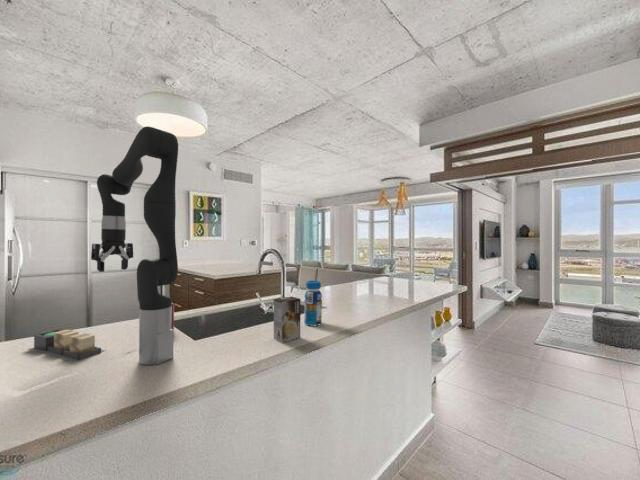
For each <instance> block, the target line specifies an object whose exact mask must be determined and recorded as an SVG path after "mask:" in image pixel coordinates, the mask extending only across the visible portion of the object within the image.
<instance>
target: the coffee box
mask: <svg viewBox="0 0 640 480" xmlns="http://www.w3.org/2000/svg"><path fill="white" fill-rule="evenodd" d="M296 338H297V339H301V298H299V297H295V296H286V297H281V298H274V299H273V340H275V339H276V341H277V340H278V342H279V341H280V343H281V342H283V343H286V341H287V342H290V341H293V339H294V340H297V339H296Z"/></svg>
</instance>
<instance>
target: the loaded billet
mask: <svg viewBox="0 0 640 480" xmlns="http://www.w3.org/2000/svg"><path fill="white" fill-rule="evenodd" d="M62 330H63V331H59V332H55V333H54V348H58V349H61V350H65V349H68V348H70V336H73V335H77V334H79V331H76V330H73V329H62Z"/></svg>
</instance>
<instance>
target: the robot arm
mask: <svg viewBox="0 0 640 480" xmlns="http://www.w3.org/2000/svg"><path fill="white" fill-rule="evenodd" d="M129 146H130V147H129V149H128V150H127V152H126V155H125V156H124V158H123V159H122V161H121V162H120V163H118V165H117V166H116V167H115V168H114V169H113V170H112V174H106V173H104V174H101V175H99V176H98V178H97V181H96V186H97V190H98V193H99V196H100V200H101V204H102V218H101V225H100V226H101V232H100V233H101V237H100V239H101V243H92V244H91V252H90V253H91V254H90V256H91V257H90V260H91V261H95V262H96V269H97V271H98V272H99V273H103V272H105V260H106V259H107V258H108V257H109V256H114V255H115V256H116V255H117V256H119V257H120V259H121V260H120V261H121V263H120V264H121V267H120V268H121V270H125V271H126V270H127V269H128V267H129V260H130V259H134V244H133V243H132V242H126V243H125V241H126V235H127V234H126V232H127V231H126V226H127V224H126V223H127V222H126V205H125V202H123V201H120V200H117V199H115V198H114V197H113V195H118V196H127V195H129V193H130V192H131V190H132V188H133V187H132V186H133V184H134V182H136V180H138V178H140V177H141V175H142V173H143V170H144V165H143V162H142V158H144V157H146V156H147V157H150V158H155V159H159V160H160V171H159V173H158V176H157V178H156V179H155V180H154V182H153V183H152V184H151V185H150V187H149V188H148V190H147V191H146V193H145V195H144V197H143V218H144V221H145V224H146V225H147V227H148V228H149V231H150V232H151V233H152V235H153V237H154V239H156V240H155V241H156V242H157V245H158V252H159V253H158V255H159V257H156V258H155V257H154V258H153V257H152V258H144V259H141V260H140V261H139V262H138V265H137V268H136V285H137V290H136V291H137V300H138V304H139V309H138V310H139V315H138V316H139V319H138V322H139V323H138V325H139V326H138V329H139V330H138V333H139V335H138V336H139V337H138V355H139V356H138V363H139V364H141V365H146V366H151V365H156V366H158V365H160V364H163V363H164V362H167V361H169V360H172V359H173V358H174V339H175V338H174V337H175V336H174V333H175V331H174V330H175V329H174V330H173V329H171V321H172V303H173V300H172V297H171V296H170V295H164V294H160V293H159V289H158V287H162V286H166V285H167V286H168V285H171V284H174V283H175V282H176V280H177V278H178V273H179V265H178V263H179V262H178V255H177V254H178V253H177V252H178V251H177V244H176V214H177V213H176V210H177V209H176V205H177V204H176V202H177V201H176V178H177V167H178V158H179V157H178V156H179V141H178V138H177V137H176V135H175V134H174V133H172V132H168V131H164V130H162V129H159V128H156V127H154V126H144V127H142V128H141V129H140V130H139V131H138V133H137V134H136V136H135V137H134V140H133V141H132V143H131V145H129ZM101 249H102V250H101ZM124 249H125V250H124ZM100 250H101V251H100Z"/></svg>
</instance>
